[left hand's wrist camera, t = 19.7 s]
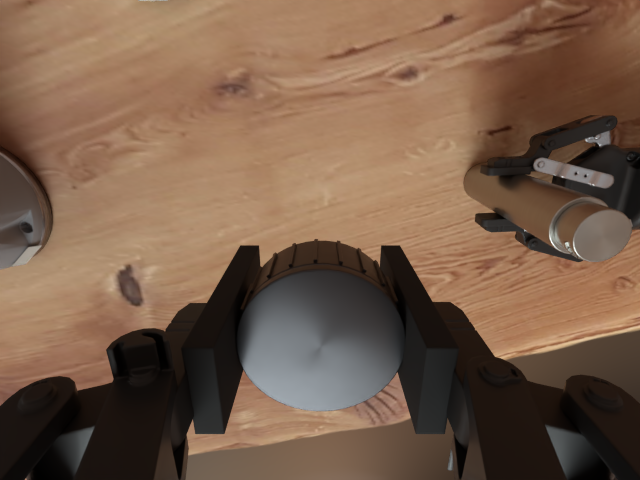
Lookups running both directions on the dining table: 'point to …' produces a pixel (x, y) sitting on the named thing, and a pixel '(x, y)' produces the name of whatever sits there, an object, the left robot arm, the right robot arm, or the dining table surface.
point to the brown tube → (553, 213)
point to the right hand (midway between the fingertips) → (481, 195)
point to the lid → (320, 327)
